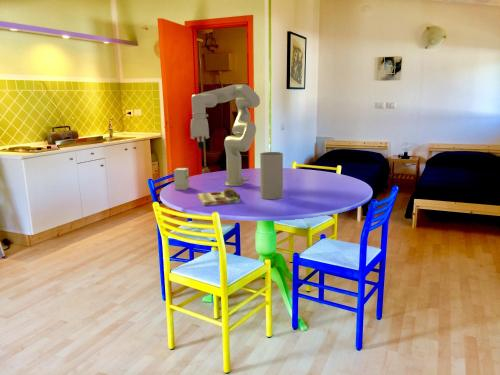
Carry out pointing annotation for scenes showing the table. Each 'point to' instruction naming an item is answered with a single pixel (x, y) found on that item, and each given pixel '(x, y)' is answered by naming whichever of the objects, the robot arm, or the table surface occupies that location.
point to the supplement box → (181, 178)
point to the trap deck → (218, 198)
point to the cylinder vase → (271, 175)
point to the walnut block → (228, 192)
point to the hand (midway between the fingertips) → (200, 148)
